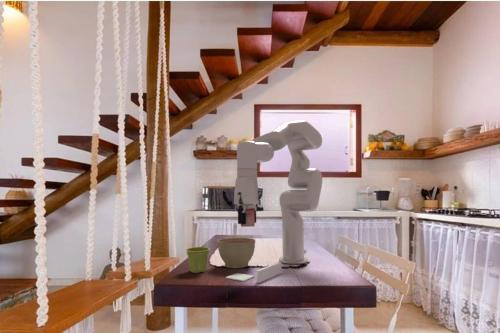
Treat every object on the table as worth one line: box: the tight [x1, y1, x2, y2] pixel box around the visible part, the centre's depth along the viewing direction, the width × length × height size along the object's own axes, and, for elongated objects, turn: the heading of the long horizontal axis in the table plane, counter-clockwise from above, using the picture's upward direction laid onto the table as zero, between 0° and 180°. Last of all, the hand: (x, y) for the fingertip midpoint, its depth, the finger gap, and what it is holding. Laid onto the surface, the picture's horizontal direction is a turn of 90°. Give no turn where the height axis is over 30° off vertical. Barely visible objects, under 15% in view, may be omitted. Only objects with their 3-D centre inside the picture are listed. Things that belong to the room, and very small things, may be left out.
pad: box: [225, 272, 256, 282], centre depth 120 cm, size 7×8×1 cm
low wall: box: [255, 261, 282, 284], centre depth 120 cm, size 16×1×4 cm, turn 146°
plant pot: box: [185, 246, 211, 274], centre depth 130 cm, size 9×9×9 cm
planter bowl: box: [216, 237, 256, 269], centre depth 138 cm, size 16×16×11 cm
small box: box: [240, 205, 256, 228], centre depth 121 cm, size 5×4×8 cm
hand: (247, 222), depth 121 cm, fingers closed on small box, 6 cm apart
